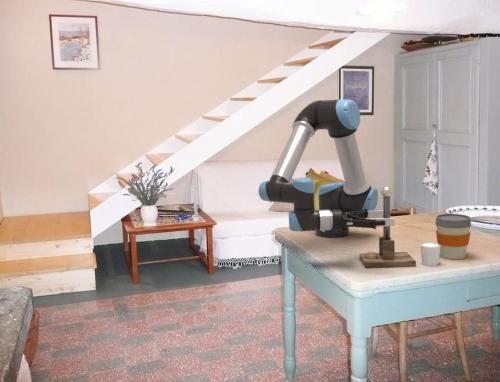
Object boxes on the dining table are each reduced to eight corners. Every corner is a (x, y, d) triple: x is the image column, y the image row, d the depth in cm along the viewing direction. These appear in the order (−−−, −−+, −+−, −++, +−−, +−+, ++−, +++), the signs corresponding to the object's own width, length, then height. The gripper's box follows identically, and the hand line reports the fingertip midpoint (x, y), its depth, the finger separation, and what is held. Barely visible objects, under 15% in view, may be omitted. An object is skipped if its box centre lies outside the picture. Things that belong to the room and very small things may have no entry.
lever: (380, 249, 196) (379, 185, 192) (390, 249, 196) (390, 185, 192) (382, 252, 192) (382, 187, 188) (393, 252, 192) (393, 187, 188)
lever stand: (359, 258, 201) (359, 235, 200) (406, 256, 200) (406, 233, 199) (365, 268, 189) (365, 244, 188) (415, 266, 189) (416, 242, 187)
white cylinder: (421, 266, 189) (421, 247, 188) (419, 260, 195) (419, 242, 194) (441, 266, 187) (441, 247, 186) (438, 260, 194) (439, 242, 193)
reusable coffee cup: (454, 249, 207) (455, 212, 205) (477, 257, 195) (479, 218, 193) (427, 253, 203) (428, 215, 201) (450, 262, 191) (450, 222, 189)
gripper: (327, 222, 205) (382, 220, 205) (335, 238, 181) (398, 236, 180) (327, 203, 204) (382, 201, 203) (335, 217, 179) (398, 214, 179)
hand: (389, 217), depth 192 cm, fingers open, 13 cm apart
